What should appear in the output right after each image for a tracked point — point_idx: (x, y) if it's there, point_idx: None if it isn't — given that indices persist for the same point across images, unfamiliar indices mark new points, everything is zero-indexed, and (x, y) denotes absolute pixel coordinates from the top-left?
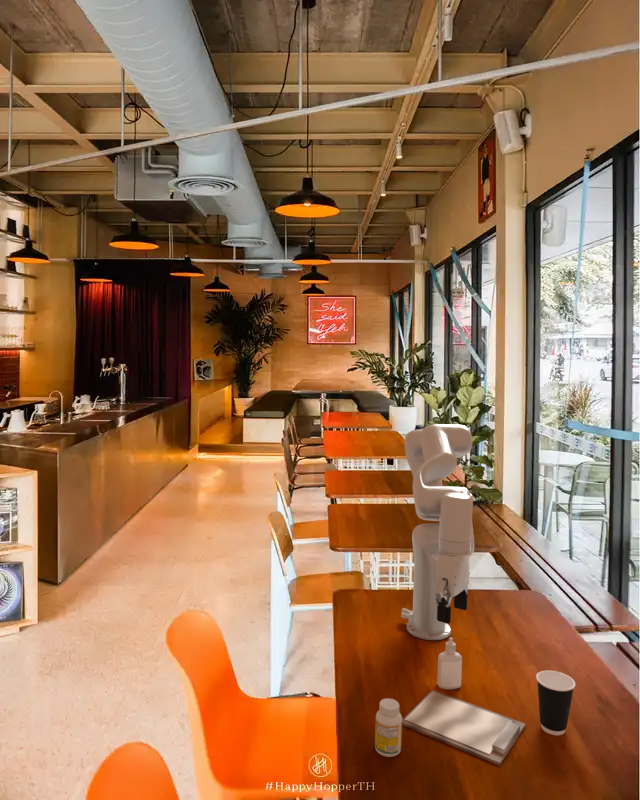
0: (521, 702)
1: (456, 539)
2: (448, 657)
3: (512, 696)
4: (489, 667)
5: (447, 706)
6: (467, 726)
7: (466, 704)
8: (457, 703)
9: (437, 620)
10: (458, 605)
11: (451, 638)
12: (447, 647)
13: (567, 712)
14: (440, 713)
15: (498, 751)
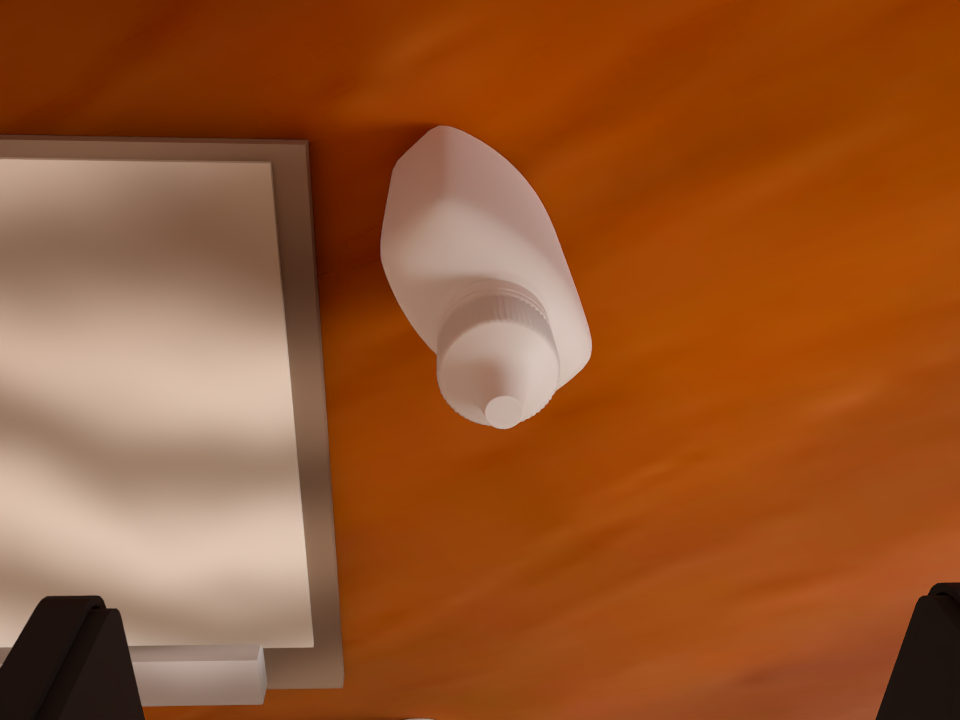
0: (562, 607)
1: None
2: (415, 328)
3: (598, 558)
4: (907, 346)
5: (166, 332)
6: (67, 501)
7: (283, 418)
8: (253, 369)
9: (51, 596)
10: (932, 709)
11: (497, 422)
12: (439, 348)
13: None
14: (50, 329)
15: None
